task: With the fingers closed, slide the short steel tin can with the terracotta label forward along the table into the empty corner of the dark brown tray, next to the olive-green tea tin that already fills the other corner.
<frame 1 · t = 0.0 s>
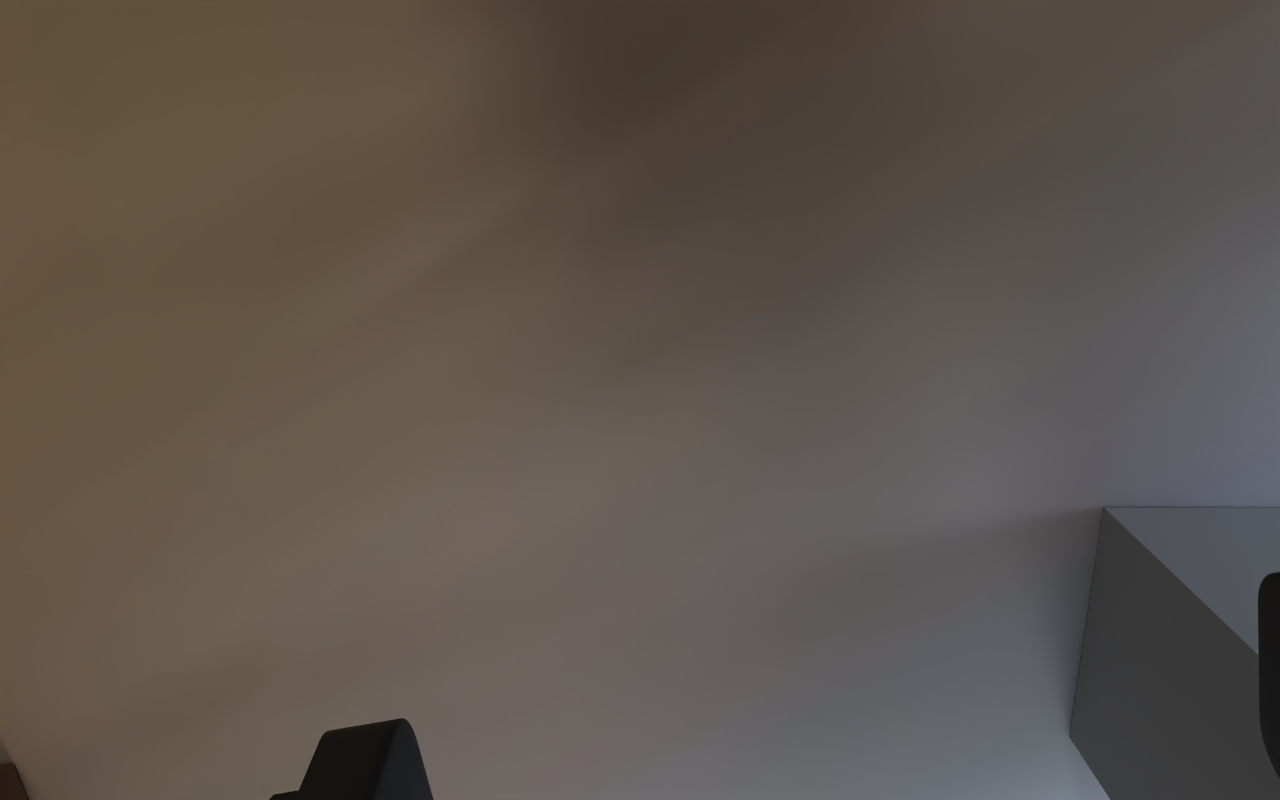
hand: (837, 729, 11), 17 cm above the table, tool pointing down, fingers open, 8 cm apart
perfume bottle: (1208, 622, 30), on the table
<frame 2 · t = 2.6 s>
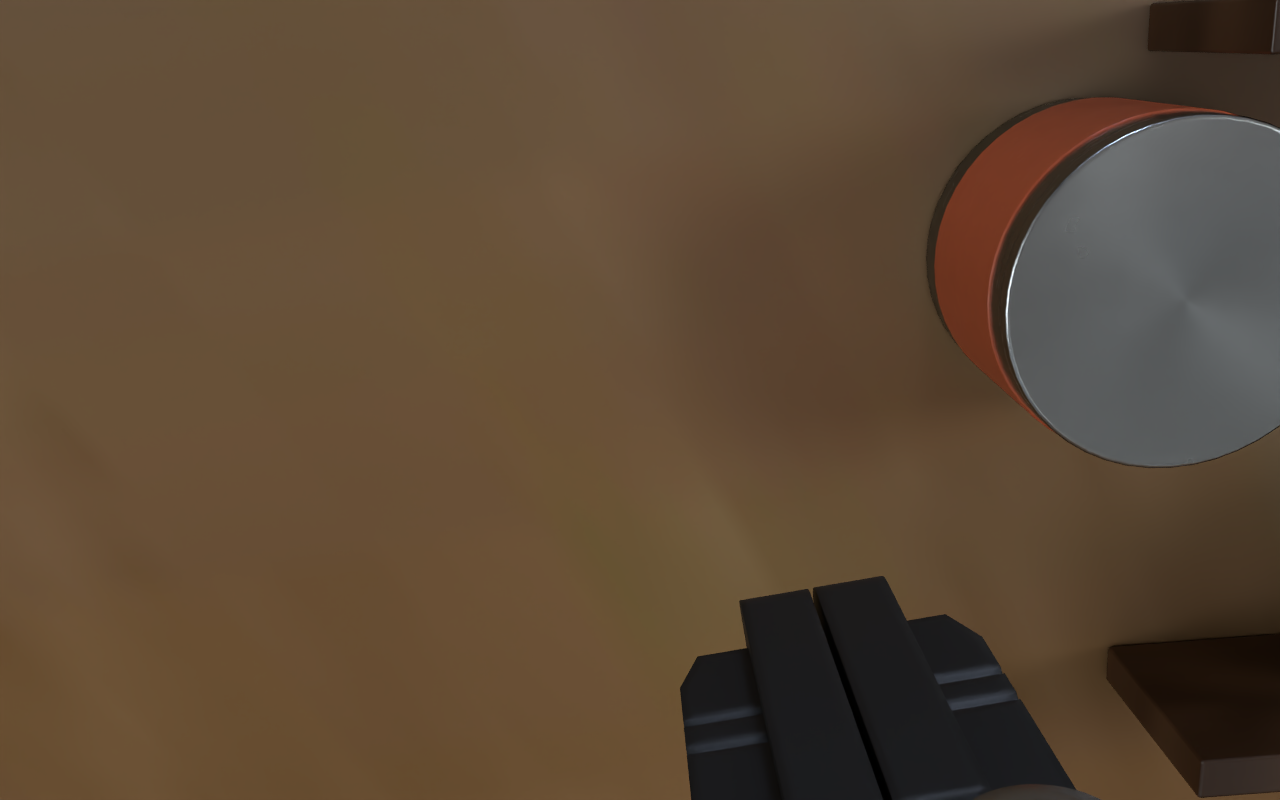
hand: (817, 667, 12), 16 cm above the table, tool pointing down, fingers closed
tin can: (1069, 247, 27), on the table
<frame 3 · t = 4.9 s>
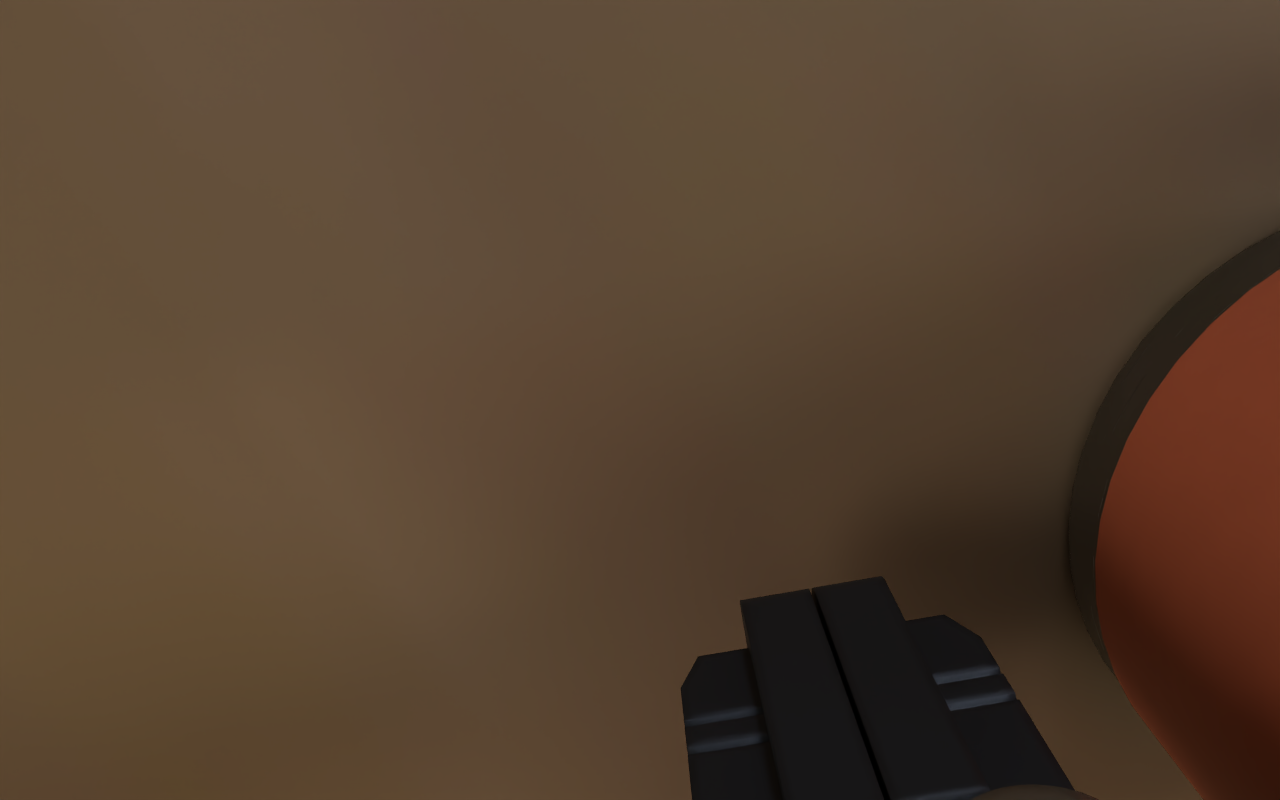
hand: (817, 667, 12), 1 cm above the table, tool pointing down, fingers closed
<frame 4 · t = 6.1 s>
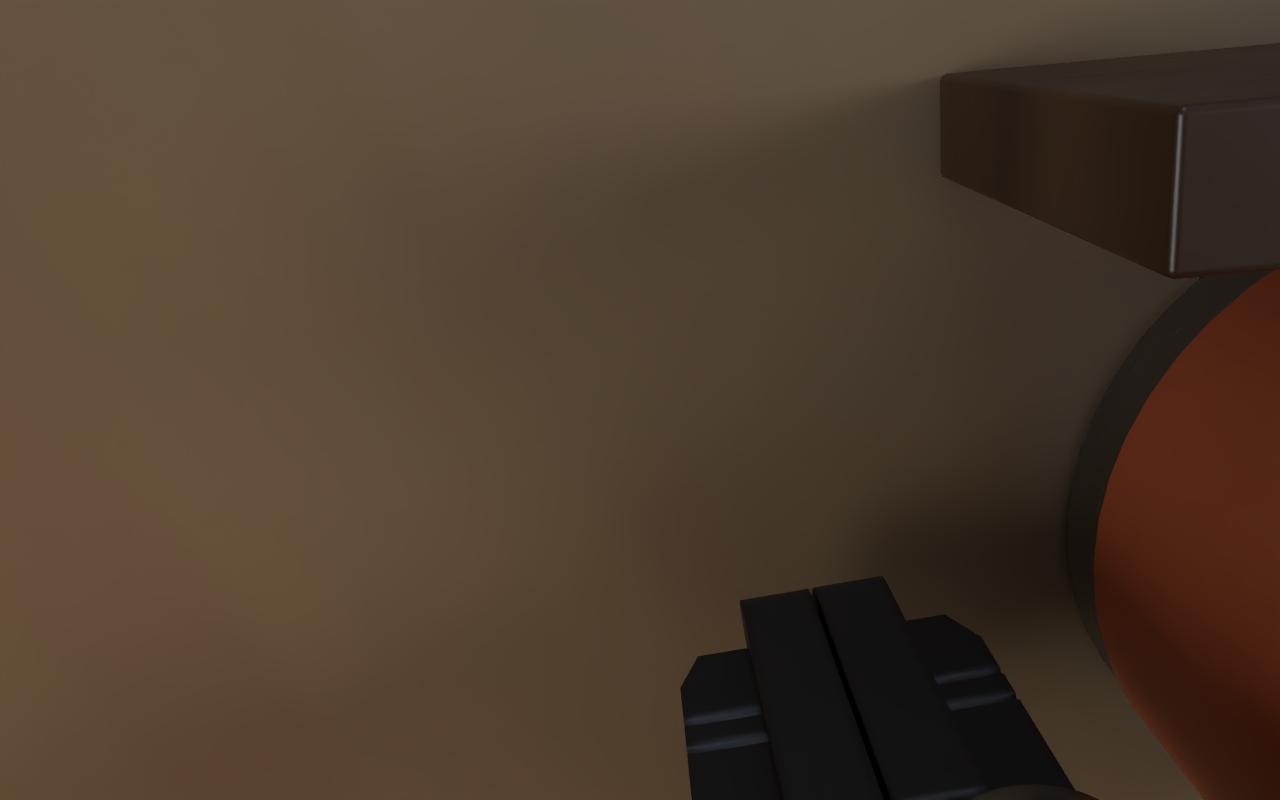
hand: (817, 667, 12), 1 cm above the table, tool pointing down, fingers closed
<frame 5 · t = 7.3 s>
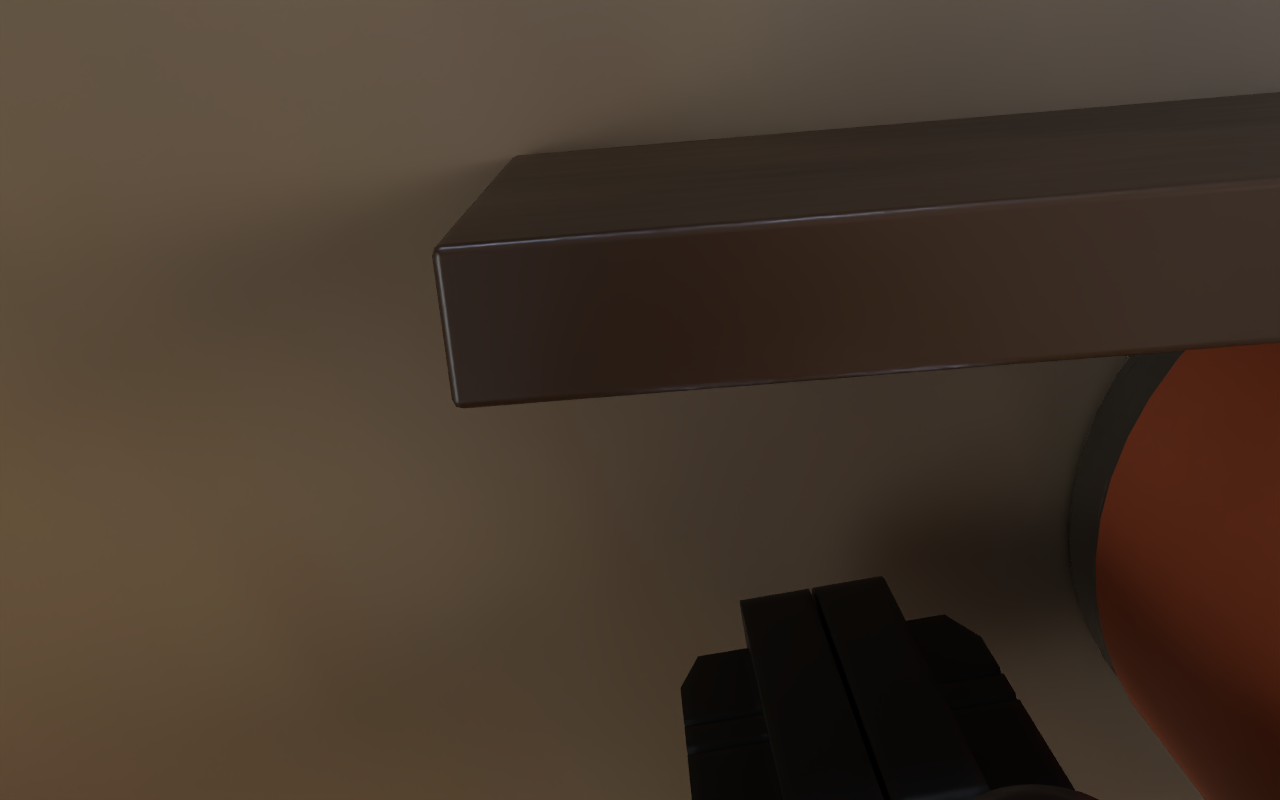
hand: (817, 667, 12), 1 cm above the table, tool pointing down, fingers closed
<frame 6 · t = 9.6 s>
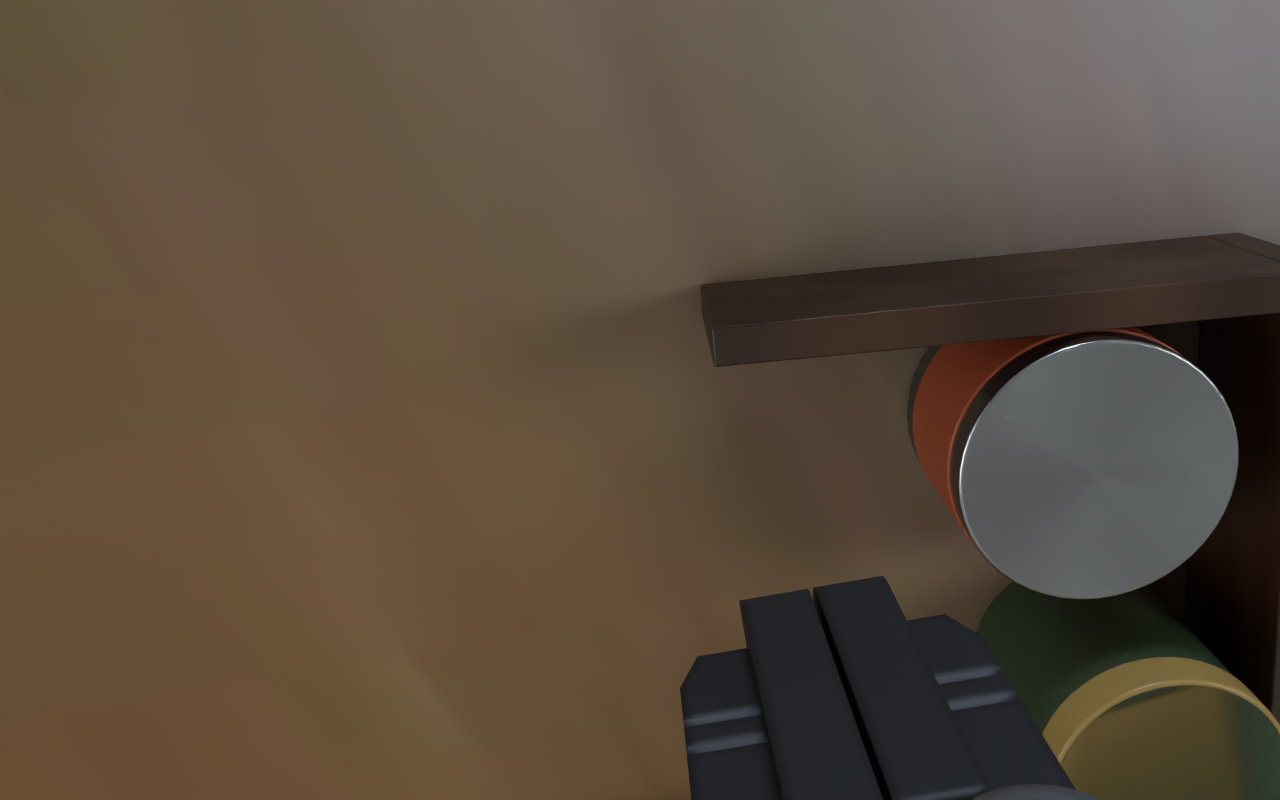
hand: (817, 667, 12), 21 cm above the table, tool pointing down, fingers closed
dark brown tray: (971, 537, 34), on the table
tea tin: (1070, 645, 35), on the table
tin can: (1024, 404, 33), on the table
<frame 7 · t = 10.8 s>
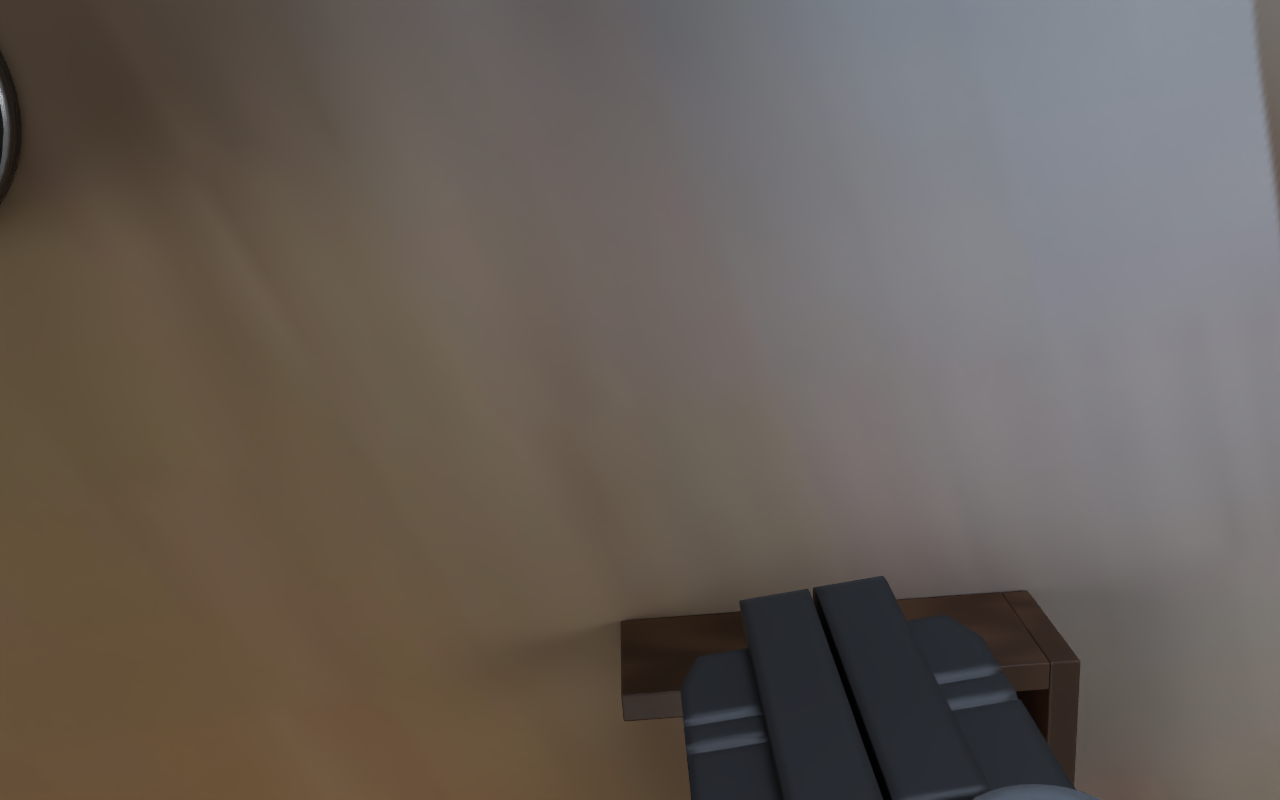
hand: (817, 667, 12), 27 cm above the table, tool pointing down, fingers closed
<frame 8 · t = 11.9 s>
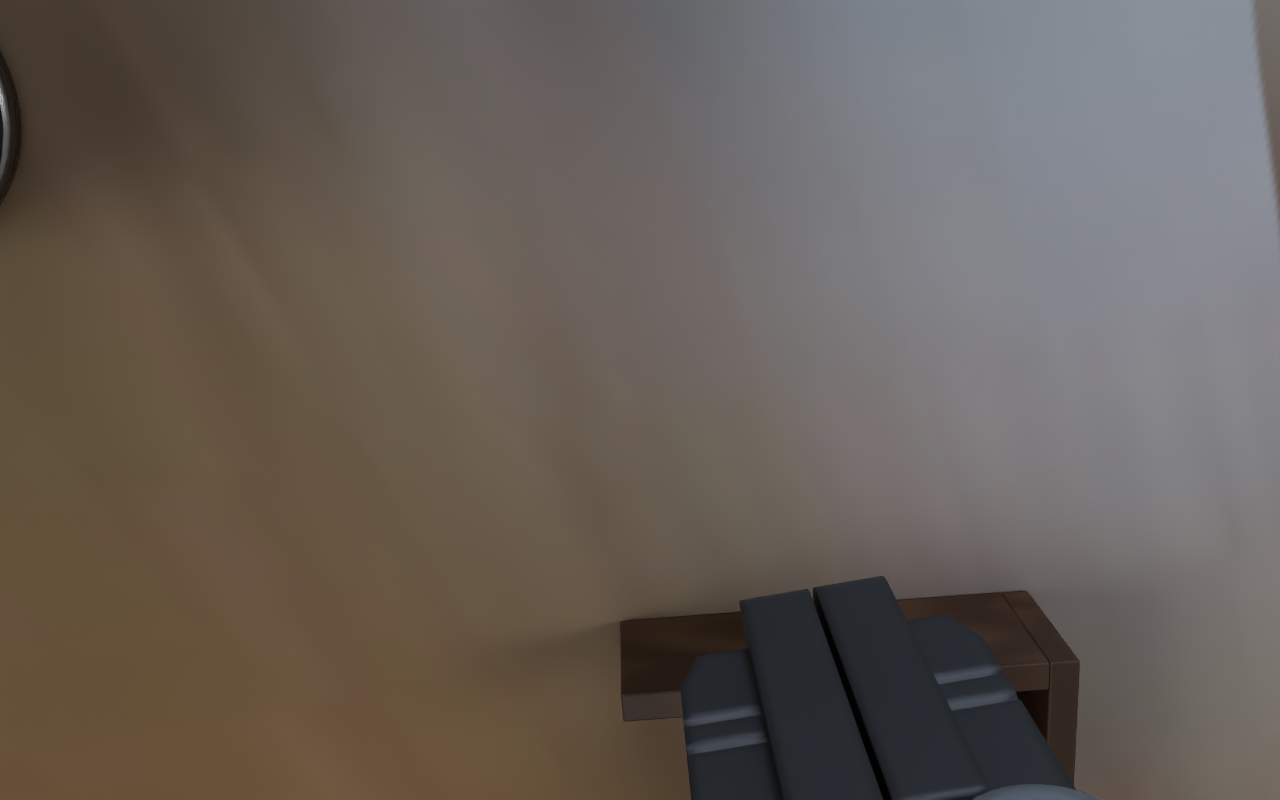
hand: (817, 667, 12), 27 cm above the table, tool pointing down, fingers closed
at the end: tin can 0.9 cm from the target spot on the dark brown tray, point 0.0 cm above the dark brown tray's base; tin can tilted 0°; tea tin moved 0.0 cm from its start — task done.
